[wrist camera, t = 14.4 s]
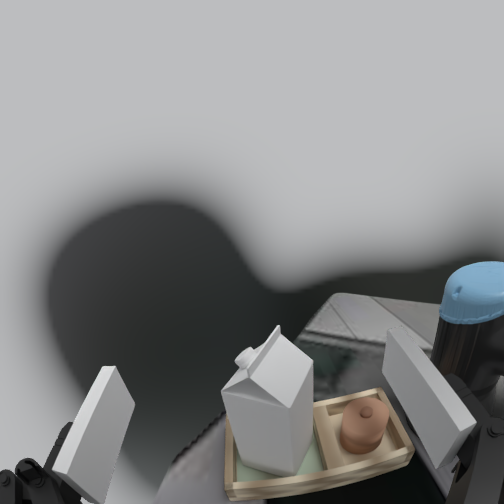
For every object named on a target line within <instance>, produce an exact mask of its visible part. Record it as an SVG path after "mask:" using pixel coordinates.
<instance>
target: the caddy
mask: <svg viewBox="0 0 504 504" xmlns="http://www.w3.org/2000/svg"><path fill="white" fill-rule="evenodd" d="M414 452H415V448H414V446H413V444H412V442H411V440H410V438H409V436H408V435H407V433H406V431H405V429H404V427H403V425H402V423H401V422H400V420H399V418H398V416H397V414H396V413H395V411H394V409H393V407H392V405H391V404H390V402H389V400H388V398H387V396H386V395H385V393H384V391H383V389H382V388H381V387H378V388H374V389H371V390H367V391H363V392H359V393H355V394H351V395H347V396H342V397H338V398H333V399H329V400H324V401H319V402H313V437H312V443H311V445H310V447H309V449H308V452H307V454H306V456H305V458H304V460H303V462H302V465H301V467H300V469H299V471H298V473H297V475H296V476H292V477H282V476H278V475H274V474H271V473H267V472H264V471H260V470H257V469H254V468H251V467H248V466H245V465H243V464H242V461H241V458H240V455H239V451H238V448H237V445H236V442H235V439H234V435H233V432H232V429H231V425H230V422H229V419H228V415H227V414H226V433H225V475H224V490H225V492H226V494H227V496H228V497H229V499H230V501H243V500H258V499H268V498H277V497H285V496H292V495H299V494H305V493H310V492H315V491H320V490H325V489H330V488H334V487H339V486H343V485H347V484H350V483H354V482H358V481H361V480H365V479H368V478H371V477H375V476H378V475H381V474H384V473H387V472H390V471H392V470H395V469H398V468H401V467H403V466H406V465H408V463H409V461H410V459H411V458H412V456H413V454H414Z"/></svg>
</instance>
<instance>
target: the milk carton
mask: <svg viewBox="0 0 504 504" xmlns="http://www.w3.org/2000/svg"><path fill="white" fill-rule="evenodd" d="M235 363H236V364H237V365H239V367H240V368H239V369H238V370H237V372H236V373H235V374H234V375H233V377H232V378H231V379H230V380H229V382H228V383H227V384H226V385H225V387H224V388H223V389H222V390H221V393H222V397H223V401H224V405H225V408H226V412H227V415H228V419H229V422H230V425H231V429H232V432H233V435H234V439H235V442H236V445H237V448H238V451H239V455H240V458H241V461H242V464H243V465H245V466H248V467H251V468H254V469H257V470H260V471H264V472H267V473H271V474H274V475H278V476H282V477H292V476H296V475H297V473H298V471H299V469H300V467H301V465H302V462H303V460H304V458H305V456H306V454H307V452H308V449H309V447H310V445H311V443H312V437H313V360H312V359H311V358H309V357H308V356H307V355H306V354H304V353H303V352H302V351H301V350H300V349H298V348H297V347H296V346H295V345H293V344H292V343H291V342H290V341H289V340H287V339H286V338H285V337H284V336H282V335H281V333H280V326H279V325H278V326H277V327H276V328H275V330H274V331H273V332H272V334H271V335H270V337H269V338H268V339H267V341H266V342H265V343H264V344H263V345H261V346H259V347H258V348H257V349H255V350H253V349H252V348H251V347H249V348H247V349H246V350H244V351H243V352H242V353H241V354H240V355H239V356H238V357H237V358H236V360H235Z"/></svg>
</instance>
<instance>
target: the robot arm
mask: <svg viewBox="0 0 504 504" xmlns="http://www.w3.org/2000/svg"><path fill="white" fill-rule="evenodd" d="M439 313H440V317H439V323H438V328H437V333H436V337H435V342H434V346H433V350H432V354H431V358H430V360H429V358H428V357H427V356H426V355H425V353H424V352H423V351H422V350H421V348H420V347H419V346H418V345H417V344H416V342H415V341H414V340H413V339H412V338H411V336H410V335H409V334H408V333H407V332H406V330H405V329H404V328H403V327H402V326H398V327H394V328H391V329H388V331H387V340H386V348H385V355H384V362H383V369H382V373H383V374H384V376H385V378H386V379H387V381H388V383H389V384H390V386H391V388H392V390H393V391H394V393H395V395H396V397H397V398H398V400H399V402H400V404H401V405H402V407H403V409H404V411H405V413H406V419H407V422H408V424H409V426H410V427H411V429H412V430H413V431H414V433H415V434H416V435H417V436H419V438H420V440H421V442H422V444H423V445H424V447H425V449H426V451H427V453H428V455H429V457H430V459H431V461H432V463H433V464H434V466H435V468H436V469H438V468H441V467H443V466H445V465H447V464H448V463H450V462H452V461H453V459H454V458H455V456H456V455H457V456H458V457H459V459H460V460H459V461H458V463H457V464H456V465H455V467H454V468H453V470H452V473H454V471H455V470H456V472H455V475H454V478H453V481H452V485H451V488H450V491H449V494H448V497H447V499H446V502H445V504H504V420H503V419H501V418H498V417H494V418H492V417H491V415H492V412H493V407H494V400H495V392H496V384H497V382H498V380H499V377H500V375H501V376H504V262H480V263H474V264H470V265H468V266H465V267H462V268H460V269H458V270H457V271H455V272H454V273H453V274H452V275H451V276H450V278H449V279H448V281H447V283H446V286H445V291H444V296H443V301H442V303H441V305H440V309H439ZM134 406H135V403H134V401H133V399H132V397H131V395H130V394H129V392H128V390H127V388H126V386H125V384H124V382H123V381H122V378H121V376H120V375H119V372H118V370H117V369H116V366H103V367H102V369H101V371H100V373H99V374H98V376H97V378H96V380H95V382H94V384H93V385H92V387H91V389H90V391H89V393H88V395H87V397H86V399H85V401H84V403H83V405H82V407H81V409H80V411H79V413H78V415H77V417H76V419H75V421H74V423H73V422H68V423H67V424H66V425H65V426H64V427H63V428H62V430H61V432H60V434H59V436H58V439H57V440H56V442H55V446H53V448H52V450H51V452H50V454H49V457H48V459H47V461H46V463H45V465H44V467H43V468H42V467H41V466H40V465H39V464H38V463H37V462H36V461H35V460H33V459H31V458H25V459H23V460H21V461H20V462H19V463H18V464H17V465H16V468H15V474H16V475H17V476H16V475H15V474H14V473H13V472H12V471H10V470H6V469H5V470H2V471H1V472H0V504H82V502H81V501H80V500H81V497H83V498H84V499H85V500H87V501H88V502H90V503H94V504H104V502H105V499H106V495H107V491H108V488H109V484H110V481H111V478H112V474H113V471H114V468H115V464H116V461H117V457H118V455H119V451H120V448H121V445H122V442H123V439H124V436H125V433H126V430H127V427H128V424H129V420H130V418H131V415H132V412H133V409H134Z"/></svg>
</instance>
